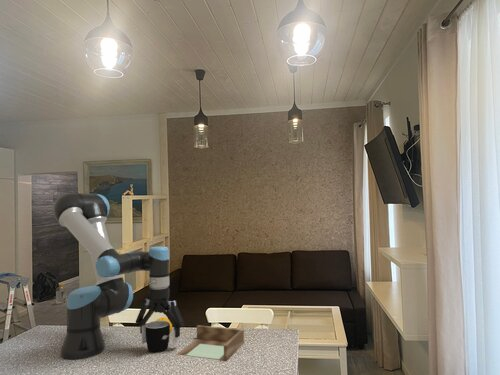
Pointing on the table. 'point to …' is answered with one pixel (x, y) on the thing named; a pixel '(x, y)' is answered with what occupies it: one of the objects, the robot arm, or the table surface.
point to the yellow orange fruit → (165, 320)
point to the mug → (157, 336)
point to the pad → (207, 351)
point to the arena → (217, 340)
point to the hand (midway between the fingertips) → (159, 344)
